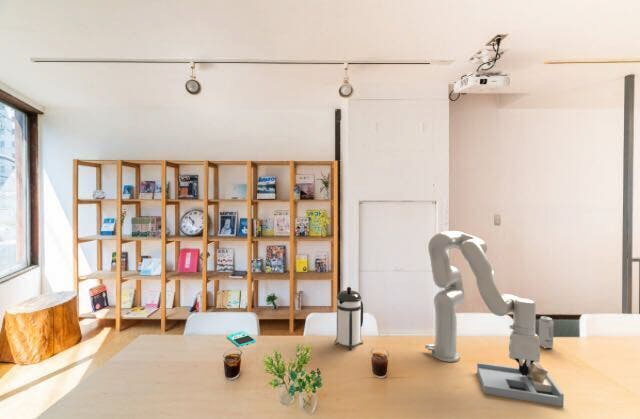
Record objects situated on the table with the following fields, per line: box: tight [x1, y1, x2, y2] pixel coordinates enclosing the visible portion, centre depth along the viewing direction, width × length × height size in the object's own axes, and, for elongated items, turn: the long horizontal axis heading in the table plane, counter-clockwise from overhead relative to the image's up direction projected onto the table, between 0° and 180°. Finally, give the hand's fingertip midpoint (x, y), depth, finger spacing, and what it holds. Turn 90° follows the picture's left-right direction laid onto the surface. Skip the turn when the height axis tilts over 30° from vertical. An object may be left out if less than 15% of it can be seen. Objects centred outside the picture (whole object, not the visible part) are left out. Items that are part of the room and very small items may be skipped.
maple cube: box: [527, 362, 549, 383], centre depth 129 cm, size 5×5×5 cm
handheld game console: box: [227, 330, 257, 348], centre depth 172 cm, size 10×16×1 cm, turn 39°
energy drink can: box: [538, 315, 554, 349], centre depth 164 cm, size 6×6×15 cm
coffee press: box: [333, 286, 364, 351], centre depth 167 cm, size 17×16×30 cm
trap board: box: [476, 361, 565, 407], centre depth 128 cm, size 26×16×4 cm, turn 73°
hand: (523, 374), depth 130 cm, fingers closed
